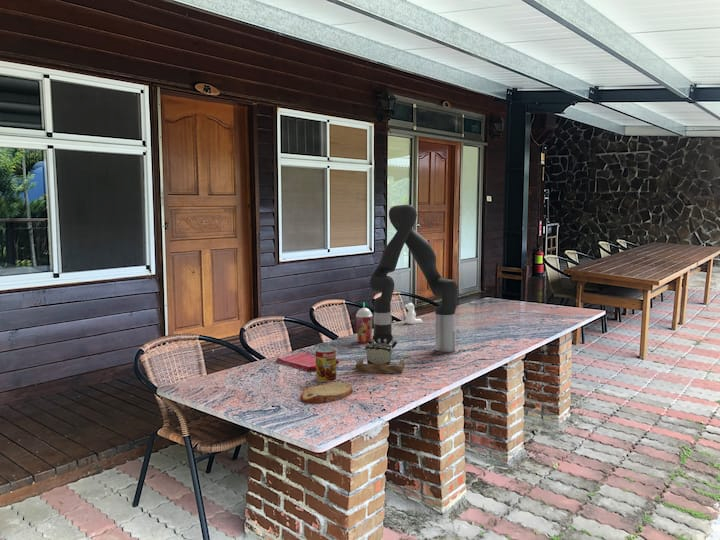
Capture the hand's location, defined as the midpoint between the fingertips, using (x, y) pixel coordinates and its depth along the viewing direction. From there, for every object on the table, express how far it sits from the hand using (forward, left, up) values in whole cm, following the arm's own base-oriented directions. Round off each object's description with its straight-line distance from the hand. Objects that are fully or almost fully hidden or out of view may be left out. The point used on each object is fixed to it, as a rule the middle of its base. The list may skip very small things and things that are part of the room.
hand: (383, 362), depth 255 cm
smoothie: (+15, -39, -2) cm, 42 cm away
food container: (0, +4, -2) cm, 4 cm away
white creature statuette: (-3, -87, -2) cm, 88 cm away
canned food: (+19, +23, -2) cm, 30 cm away
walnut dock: (0, +6, -1) cm, 6 cm away
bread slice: (+14, +41, -2) cm, 44 cm away
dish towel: (+33, +1, -2) cm, 33 cm away
